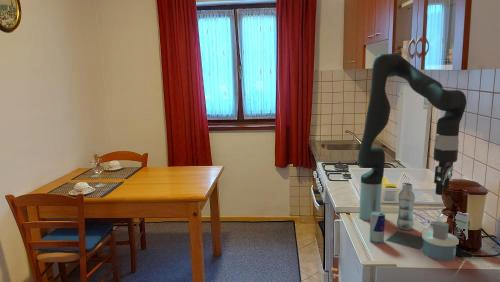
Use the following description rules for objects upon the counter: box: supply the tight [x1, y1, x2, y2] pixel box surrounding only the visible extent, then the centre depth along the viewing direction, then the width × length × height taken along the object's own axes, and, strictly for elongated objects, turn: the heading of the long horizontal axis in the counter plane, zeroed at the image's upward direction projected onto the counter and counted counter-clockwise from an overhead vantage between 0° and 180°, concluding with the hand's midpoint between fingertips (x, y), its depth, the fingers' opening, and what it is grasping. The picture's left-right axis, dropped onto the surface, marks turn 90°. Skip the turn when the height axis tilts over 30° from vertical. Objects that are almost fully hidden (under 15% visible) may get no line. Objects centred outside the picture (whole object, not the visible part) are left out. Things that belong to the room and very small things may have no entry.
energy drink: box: [368, 210, 386, 245], centre depth 150 cm, size 5×5×12 cm
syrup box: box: [455, 212, 470, 240], centre depth 146 cm, size 6×6×14 cm
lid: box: [421, 220, 459, 247], centre depth 138 cm, size 12×12×6 cm
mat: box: [385, 230, 424, 250], centre depth 152 cm, size 13×13×1 cm
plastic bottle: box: [396, 182, 416, 231], centre depth 162 cm, size 6×7×20 cm
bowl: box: [422, 240, 457, 262], centre depth 139 cm, size 10×10×6 cm
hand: (442, 191), depth 137 cm, fingers open, 8 cm apart
